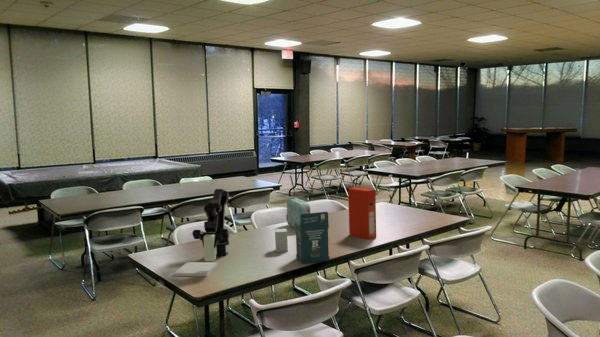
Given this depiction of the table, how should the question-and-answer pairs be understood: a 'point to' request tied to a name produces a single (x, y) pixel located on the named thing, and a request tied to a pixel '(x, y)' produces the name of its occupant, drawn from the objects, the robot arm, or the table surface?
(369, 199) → the file binder
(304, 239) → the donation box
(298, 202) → the lunch box
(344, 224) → the table surface
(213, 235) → the sage block
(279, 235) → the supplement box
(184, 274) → the grey board
